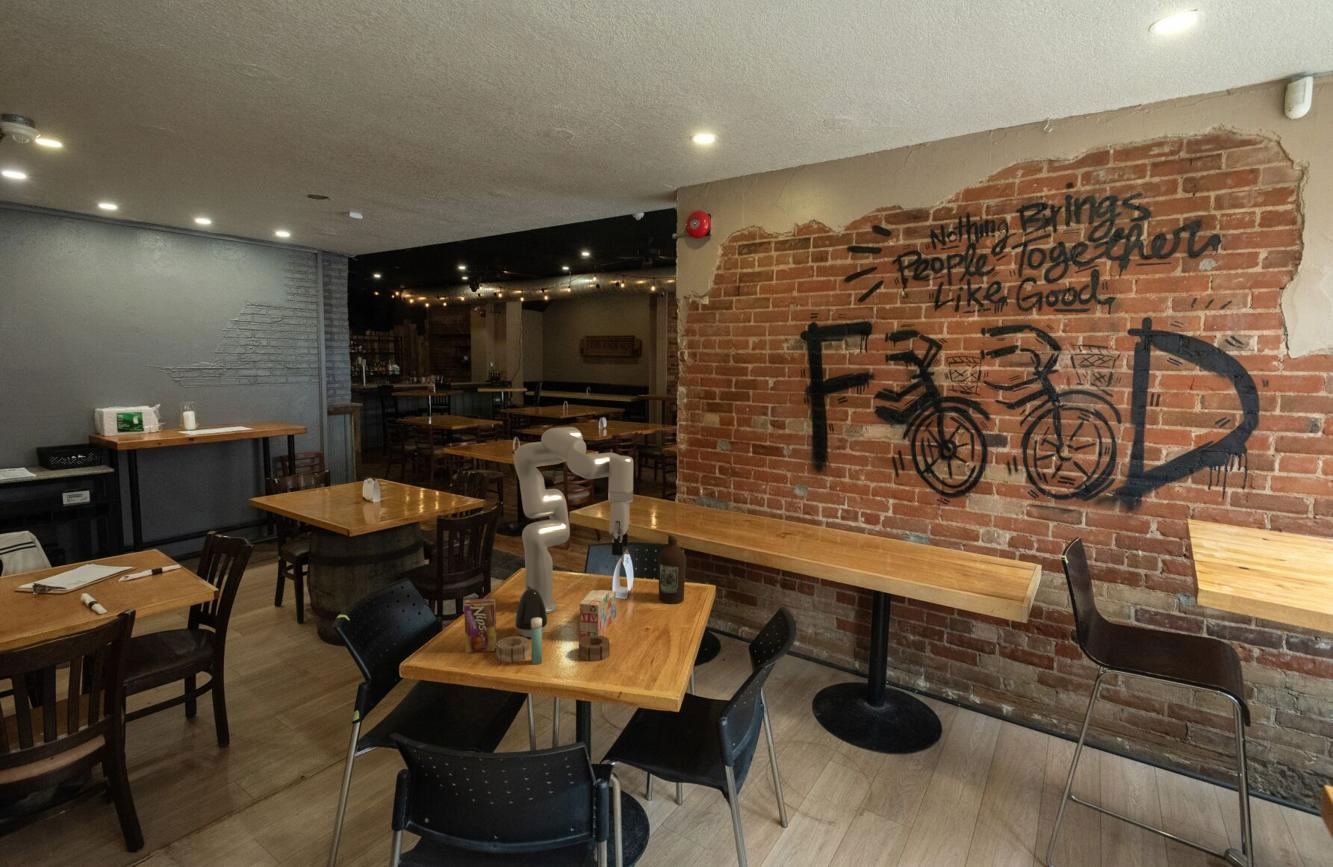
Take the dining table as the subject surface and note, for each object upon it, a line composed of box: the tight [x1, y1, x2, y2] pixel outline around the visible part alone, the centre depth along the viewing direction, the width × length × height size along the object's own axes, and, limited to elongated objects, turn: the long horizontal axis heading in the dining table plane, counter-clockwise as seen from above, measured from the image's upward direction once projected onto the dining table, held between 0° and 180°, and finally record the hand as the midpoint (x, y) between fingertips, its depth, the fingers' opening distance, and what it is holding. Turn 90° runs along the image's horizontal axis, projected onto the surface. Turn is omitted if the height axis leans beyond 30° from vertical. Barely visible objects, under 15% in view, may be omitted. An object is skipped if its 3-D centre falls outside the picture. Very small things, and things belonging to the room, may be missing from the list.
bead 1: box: [496, 635, 530, 664], centre depth 188 cm, size 9×9×4 cm
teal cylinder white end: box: [530, 617, 543, 666], centre depth 183 cm, size 3×3×13 cm
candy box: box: [463, 597, 497, 654], centre depth 191 cm, size 9×4×15 cm, turn 100°
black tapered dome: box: [514, 586, 548, 638], centre depth 202 cm, size 10×10×15 cm
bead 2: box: [578, 635, 611, 662], centre depth 189 cm, size 9×9×4 cm
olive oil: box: [657, 533, 687, 605], centre depth 235 cm, size 11×11×25 cm
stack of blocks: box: [579, 589, 617, 640], centre depth 209 cm, size 21×6×12 cm, turn 169°
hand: (619, 550), depth 194 cm, fingers open, 9 cm apart
